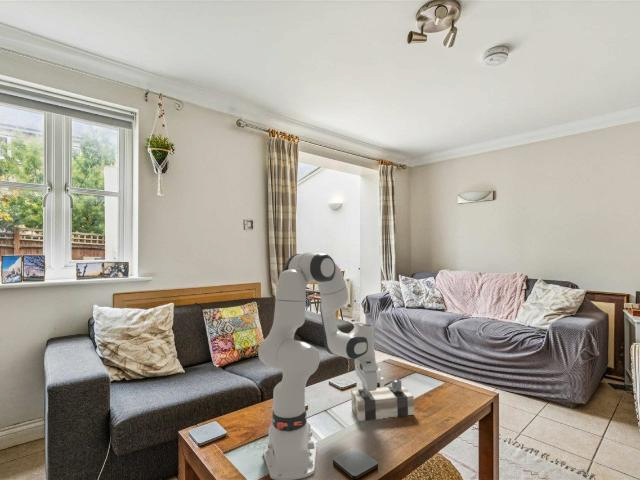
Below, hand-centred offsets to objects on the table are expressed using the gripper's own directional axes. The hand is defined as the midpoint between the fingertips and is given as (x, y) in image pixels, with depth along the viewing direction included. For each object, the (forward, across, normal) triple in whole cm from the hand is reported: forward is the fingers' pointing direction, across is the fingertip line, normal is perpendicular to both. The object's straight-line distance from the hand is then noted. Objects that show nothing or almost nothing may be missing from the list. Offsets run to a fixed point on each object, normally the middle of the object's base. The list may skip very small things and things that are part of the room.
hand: (366, 393), depth 147 cm
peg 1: (+7, 0, 0) cm, 7 cm away
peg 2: (+3, 0, +14) cm, 14 cm away
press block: (+8, 0, +7) cm, 11 cm away
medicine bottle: (+9, -19, +10) cm, 23 cm away
